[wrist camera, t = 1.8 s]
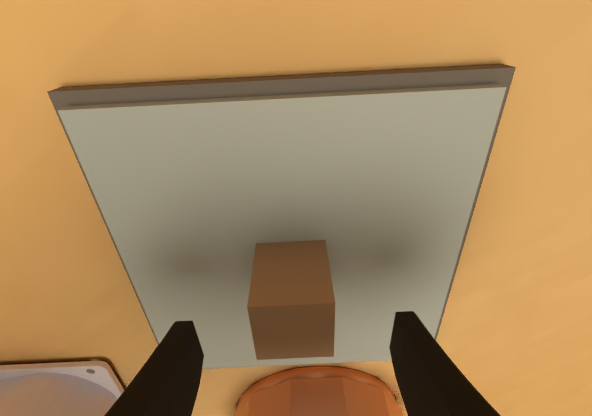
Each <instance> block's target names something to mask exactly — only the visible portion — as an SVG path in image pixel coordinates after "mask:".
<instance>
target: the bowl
mask: <svg viewBox="0 0 592 416" xmlns="http://www.w3.org/2000/svg"><path fill="white" fill-rule="evenodd" d="M234 416H403V413H402V410H401V408H400V407H399V406H398V405H397V403H396V399H395V396H394V394H393V392H392V391H391V390H390V388H389V387H388V386H387V385H386V384H385V383H383V382H382V381H380V380H379V379H377V378H375V377H373V376H371V375H369V374H366V373H364V372H361V371H357V370H353V369H349V368H342V367H332V366H312V367H302V368H296V369H290V370H286V371H282V372H279V373H276V374H273V375H270V376H268V377H266V378H264V379H262V380H260V381H258V382H257V383H255V384H253V385H252V386H251V387H250V388H248V389H247V390H246V391H245V392H244V394H243V395H242V396H241V398H240V399H239V402H238V405H237V411H236V413H235V415H234Z"/></svg>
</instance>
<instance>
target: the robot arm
mask: <svg viewBox="0 0 592 416" xmlns="http://www.w3.org/2000/svg"><path fill="white" fill-rule="evenodd" d="M389 349H390V353H391V358H392V363H393V367H394V372H395V376H396V380H397V383H398V386H399V389H400V392H401V395H402V398H403V401H404V404H405V407H406V410H407V413H408V416H500V415H499V414H498V412H497V411H496V410H495V409H494V408H493V407H492V406H491V405H490V404H489V403H488V402H487V401H486V400H485V399H484V398H483V396H482V395H481V394H480V393H479V392H478V391H477V390H476V389H475V388H474V386H473V385H472V384H471V383H470V382H469V381H468V380H467V378H466V377H465V376H464V375H463V374H462V373H461V371H460V370H459V369H458V368H457V367H456V365H455V364H454V363H453V362H452V361H451V359H450V358H449V357H448V356H447V354H446V353H445V352H444V351H443V349H442V348H441V347H440V346H439V344H438V343H437V342H436V340H435V339H434V338H433V336H432V335H431V334H430V332H429V331H428V330H427V328H426V327H425V326H424V324H423V323H422V322H421V320H420V319H419V317H418V316H417V315H416V313H415V312H414V311H403V312H396V313H395V318H394V324H393V330H392V335H391V341H390V347H389ZM203 359H204V354H203V351H202V348H201V344H200V341H199V338H198V335H197V332H196V329H195V326H194V323H193V321H175V322H174V323H173V325H172V326H171V328H170V329H169V331H168V332H167V333H166V335H165V336H164V338H163V339H162V341H161V342H160V344H159V345H158V346H157V348H156V349H155V351H154V352H153V353H152V355H151V356H150V358H149V359H148V360H147V362H146V363H145V364H144V366H143V367H142V368H141V370H140V371H139V372H138V374H137V375H136V376H135V378H134V379H133V380H132V382H131V383H130V384H129V386H128V387H127V388H126V389H125V391H124V389H123V387H122V386H121V384H120V382H119V381H118V379H117V377H116V376H115V374H114V372H113V371H112V369H111V367H110V366H109V364H108V363H106V362H104V361H81V362H59V363H37V364H15V365H0V416H191V414H192V411H193V407H194V403H195V400H196V396H197V392H198V388H199V384H200V378H201V372H202V366H203Z"/></svg>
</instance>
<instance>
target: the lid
mask: <svg viewBox="0 0 592 416" xmlns="http://www.w3.org/2000/svg"><path fill="white" fill-rule="evenodd" d="M505 91H506V87H505V86H502V85H499V84H480V85H461V86H442V87H423V88H403V89H384V90H365V91H346V92H326V93H307V94H288V95H269V96H250V97H230V98H211V99H192V100H173V101H153V102H134V103H115V104H96V105H77V106H67V107H64V108H62V109H60V110H58V113H59V115H60V117H61V120H62V122H63V124H64V126H65V129H66V131H67V133H68V136H69V138H70V140H71V143H72V145H73V147H74V149H75V152H76V154H77V156H78V159H79V161H80V163H81V166H82V168H83V170H84V172H85V175H86V177H87V179H88V182H89V184H90V186H91V189H92V191H93V193H94V195H95V198H96V200H97V202H98V205H99V207H100V209H101V212H102V214H103V216H104V218H105V221H106V223H107V225H108V228H109V230H110V232H111V235H112V237H113V239H114V241H115V244H116V246H117V248H118V251H119V253H120V255H121V258H122V260H123V262H124V264H125V267H126V269H127V271H128V274H129V276H130V278H131V281H132V283H133V285H134V287H135V290H136V292H137V294H138V297H139V299H140V301H141V304H142V306H143V308H144V310H145V313H146V315H147V317H148V320H149V322H150V324H151V326H152V329H153V331H154V333H155V336H156V338H157V340H158V343H159V344H160V342H161V341H162V339H163V338H164V336H165V335H166V333H167V332H168V331H169V329H170V328H171V326H172V325H173V323H174V322H175V321H193V323H194V326H195V329H196V332H197V335H198V338H199V341H200V344H201V348H202V351H203V354H204V359H203V366H202V369H212V368H234V367H256V366H278V365H300V364H322V363H344V362H366V361H388V360H392V358H391V353H390V349H389V347H390V341H391V335H392V330H393V324H394V318H395V313H396V312H403V311H414V312H415V313H416V315H417V316H418V317H419V319H420V320H421V322H422V323H423V324H424V326H425V327H426V328H427V330H428V331H429V332H430V334H431V335H432V336H433V338H435V334H436V331H437V327H438V324H439V321H440V317H441V314H442V310H443V307H444V303H445V300H446V296H447V293H448V289H449V286H450V282H451V279H452V275H453V272H454V268H455V265H456V261H457V258H458V254H459V251H460V247H461V244H462V241H463V237H464V234H465V230H466V227H467V223H468V220H469V216H470V213H471V209H472V206H473V202H474V199H475V195H476V192H477V188H478V185H479V181H480V178H481V174H482V171H483V167H484V164H485V161H486V157H487V154H488V150H489V147H490V143H491V140H492V136H493V133H494V129H495V126H496V122H497V119H498V115H499V112H500V108H501V105H502V101H503V98H504V94H505Z"/></svg>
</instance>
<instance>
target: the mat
mask: <svg viewBox="0 0 592 416" xmlns="http://www.w3.org/2000/svg"><path fill="white" fill-rule="evenodd" d="M515 68H516V67H512V66H508V65H504V64H492V65H473V66H454V67H435V68H416V69H397V70H378V71H359V72H340V73H321V74H302V75H283V76H263V77H244V78H225V79H206V80H187V81H168V82H149V83H130V84H111V85H92V86H73V87H60V88H57V89H54V90H51V91H49V92H48V94H49V97H50V99H51V101H52V103H53V106H54V108H55V110H56V113H57V115H58V117H59V119H60V122H61V124H62V126H63V129H64V131H65V133H66V135H67V138H68V140H69V142H70V145H71V147H72V149H73V151H74V154H75V156H76V158H77V160H78V163H79V165H80V167H81V170H82V172H83V174H84V176H85V179H86V181H87V183H88V186H89V188H90V190H91V192H92V195H93V197H94V199H95V202H96V204H97V206H98V208H99V211H100V213H101V215H102V218H103V220H104V222H105V224H106V227H107V229H108V231H109V234H110V236H111V238H112V240H113V243H114V245H115V247H116V250H117V252H118V254H119V256H120V259H121V261H122V263H123V265H124V268H125V270H126V272H127V275H128V277H129V279H130V281H131V278H130V276H129V274H128V271H127V269H126V267H125V264H124V262H123V260H122V258H121V255H120V253H119V251H118V248H117V246H116V244H115V241H114V239H113V237H112V235H111V232H110V230H109V228H108V225H107V223H106V221H105V218H104V216H103V214H102V212H101V209H100V207H99V205H98V202H97V200H96V198H95V195H94V193H93V191H92V189H91V186H90V184H89V182H88V179H87V177H86V175H85V172H84V170H83V168H82V166H81V163H80V161H79V159H78V156H77V154H76V152H75V149H74V147H73V145H72V143H71V140H70V138H69V136H68V133H67V131H66V129H65V126H64V124H63V122H62V120H61V117H60V115H59V113H58V110H60V109H62V108H64V107H67V106H77V105H96V104H115V103H134V102H153V101H173V100H192V99H211V98H230V97H250V96H269V95H288V94H307V93H326V92H346V91H365V90H384V89H403V88H423V87H442V86H461V85H480V84H499V85H502V86H505V87H506V91H505V94H504V98H503V101H502V105H501V108H500V112H499V115H498V119H497V122H496V126H495V129H494V133H493V136H492V140H491V143H490V147H489V150H488V154H487V157H486V161H485V164H484V167H483V171H482V174H481V178H480V181H479V185H478V188H477V192H476V195H475V199H474V202H473V206H472V209H471V213H470V216H469V220H468V223H467V227H466V230H465V234H464V237H463V241H462V244H461V247H460V251H459V254H458V258H457V261H456V265H455V268H454V272H453V275H452V279H451V282H450V286H449V289H448V293H447V296H446V300H445V303H444V307H443V310H442V314H441V317H440V321H439V324H438V327H437V331H436V334H435V338H434V339H435V340H436V338H437V334H438V331H439V327H440V324H441V321H442V317H443V314H444V310H445V307H446V303H447V300H448V297H449V293H450V290H451V286H452V283H453V280H454V276H455V273H456V269H457V266H458V262H459V259H460V256H461V252H462V249H463V245H464V242H465V239H466V235H467V232H468V228H469V225H470V221H471V218H472V215H473V211H474V208H475V204H476V201H477V198H478V194H479V191H480V187H481V184H482V180H483V177H484V174H485V170H486V167H487V163H488V160H489V156H490V153H491V150H492V146H493V143H494V139H495V136H496V133H497V129H498V126H499V122H500V119H501V115H502V112H503V109H504V105H505V102H506V98H507V95H508V92H509V88H510V85H511V81H512V78H513V74H514V71H515ZM131 284H132V286H133V288H134V291H135V293H136V295H137V297H138V294H137V292H136V290H135V287H134V285H133V283H132V281H131ZM138 300H139V302H140V304H141V301H140V299H139V297H138ZM141 307H142V309H143V311H144V313H145V310H144V308H143V306H142V304H141ZM145 316H146V318H147V320H148V317H147V315H146V313H145ZM148 323H149V325H150V327H151V329H152V326H151V324H150V322H149V320H148ZM152 332H153V334H154V336H155V333H154V331H153V329H152ZM155 339H156V341H157V343H158V340H157V338H156V336H155ZM158 345H159V343H158Z"/></svg>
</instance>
